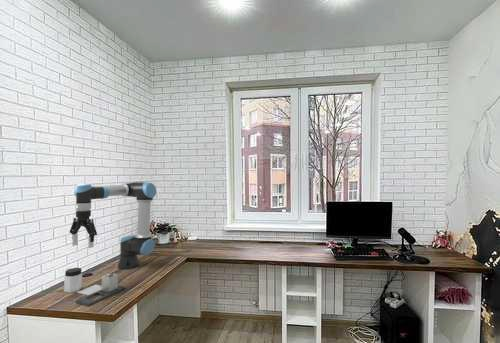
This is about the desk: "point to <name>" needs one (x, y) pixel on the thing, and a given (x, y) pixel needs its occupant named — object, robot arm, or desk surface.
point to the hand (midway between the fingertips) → (82, 246)
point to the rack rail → (89, 302)
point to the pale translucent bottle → (109, 283)
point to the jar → (73, 280)
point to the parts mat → (90, 290)
